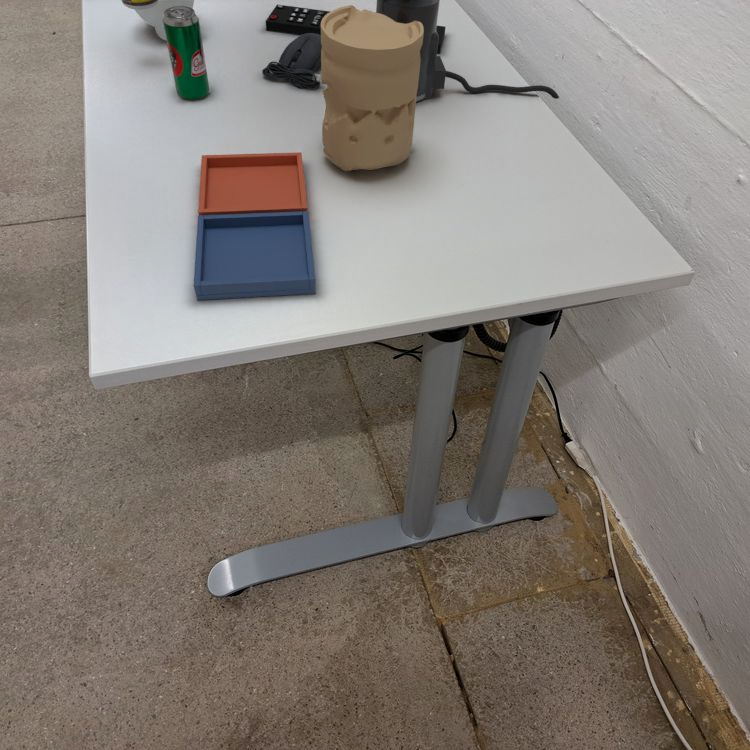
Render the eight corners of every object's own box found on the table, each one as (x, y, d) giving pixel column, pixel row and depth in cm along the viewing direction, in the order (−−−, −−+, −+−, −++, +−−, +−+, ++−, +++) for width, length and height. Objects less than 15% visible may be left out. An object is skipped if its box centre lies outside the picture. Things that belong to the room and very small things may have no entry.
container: (340, 126, 96) (341, -3, 82) (420, 144, 94) (435, 15, 80) (309, 171, 89) (304, 37, 75) (395, 191, 87) (407, 58, 73)
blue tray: (308, 225, 81) (307, 210, 79) (315, 293, 74) (315, 279, 72) (201, 230, 80) (197, 215, 78) (197, 300, 72) (193, 285, 70)
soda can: (203, 103, 98) (189, 21, 89) (172, 99, 99) (155, 16, 89) (214, 88, 101) (202, 7, 92) (184, 83, 102) (169, 2, 92)
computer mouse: (350, 54, 111) (350, 31, 108) (316, 92, 102) (315, 68, 99) (297, 42, 113) (296, 19, 110) (259, 79, 104) (257, 55, 101)
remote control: (276, 12, 120) (275, 1, 118) (444, 35, 117) (446, 23, 116) (264, 30, 115) (263, 18, 114) (439, 53, 113) (441, 42, 111)
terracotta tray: (302, 166, 89) (301, 152, 87) (308, 222, 82) (307, 207, 80) (204, 170, 88) (201, 155, 86) (201, 227, 80) (198, 212, 78)
